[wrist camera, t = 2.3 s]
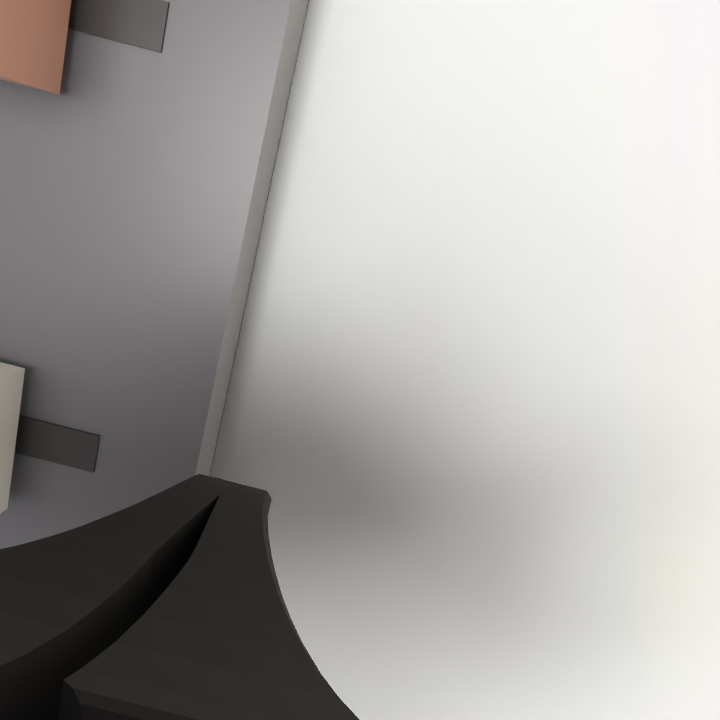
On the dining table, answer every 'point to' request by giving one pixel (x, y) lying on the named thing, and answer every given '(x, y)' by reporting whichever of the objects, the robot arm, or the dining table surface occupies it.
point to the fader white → (8, 424)
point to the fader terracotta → (33, 42)
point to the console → (133, 245)
